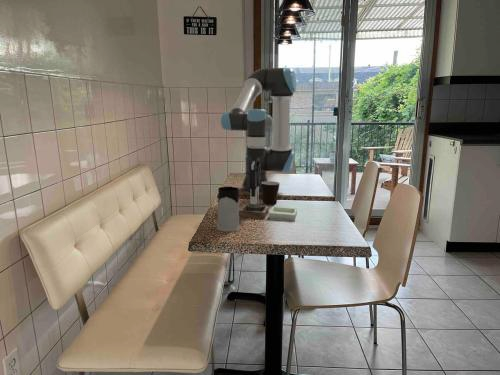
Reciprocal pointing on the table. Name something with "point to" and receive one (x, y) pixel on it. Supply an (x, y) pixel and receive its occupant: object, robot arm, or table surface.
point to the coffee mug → (270, 192)
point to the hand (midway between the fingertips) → (254, 202)
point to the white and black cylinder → (228, 209)
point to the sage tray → (283, 213)
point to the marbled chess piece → (254, 205)
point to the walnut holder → (254, 212)
